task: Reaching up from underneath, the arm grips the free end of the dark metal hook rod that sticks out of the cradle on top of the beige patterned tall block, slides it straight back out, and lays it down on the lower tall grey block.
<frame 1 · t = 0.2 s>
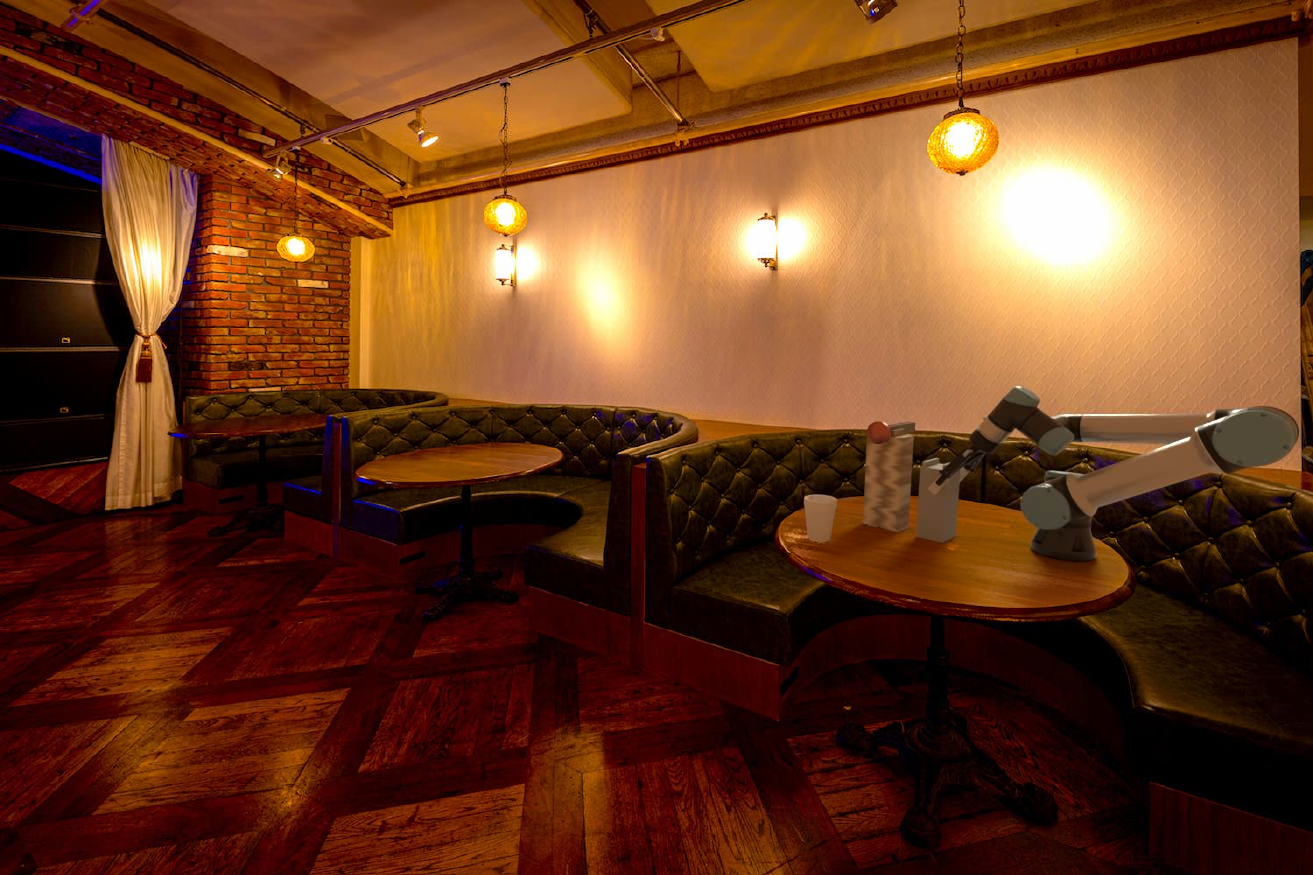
hand: (941, 487, 179), 16 cm above the table, tool tilted 35°, fingers open, 13 cm apart
beige patterned tall block: (885, 525, 194), on the table
tall grey block: (935, 536, 183), on the table
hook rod: (895, 434, 192), point 30 cm above the table, touching beige patterned tall block
foam cup: (818, 540, 180), on the table
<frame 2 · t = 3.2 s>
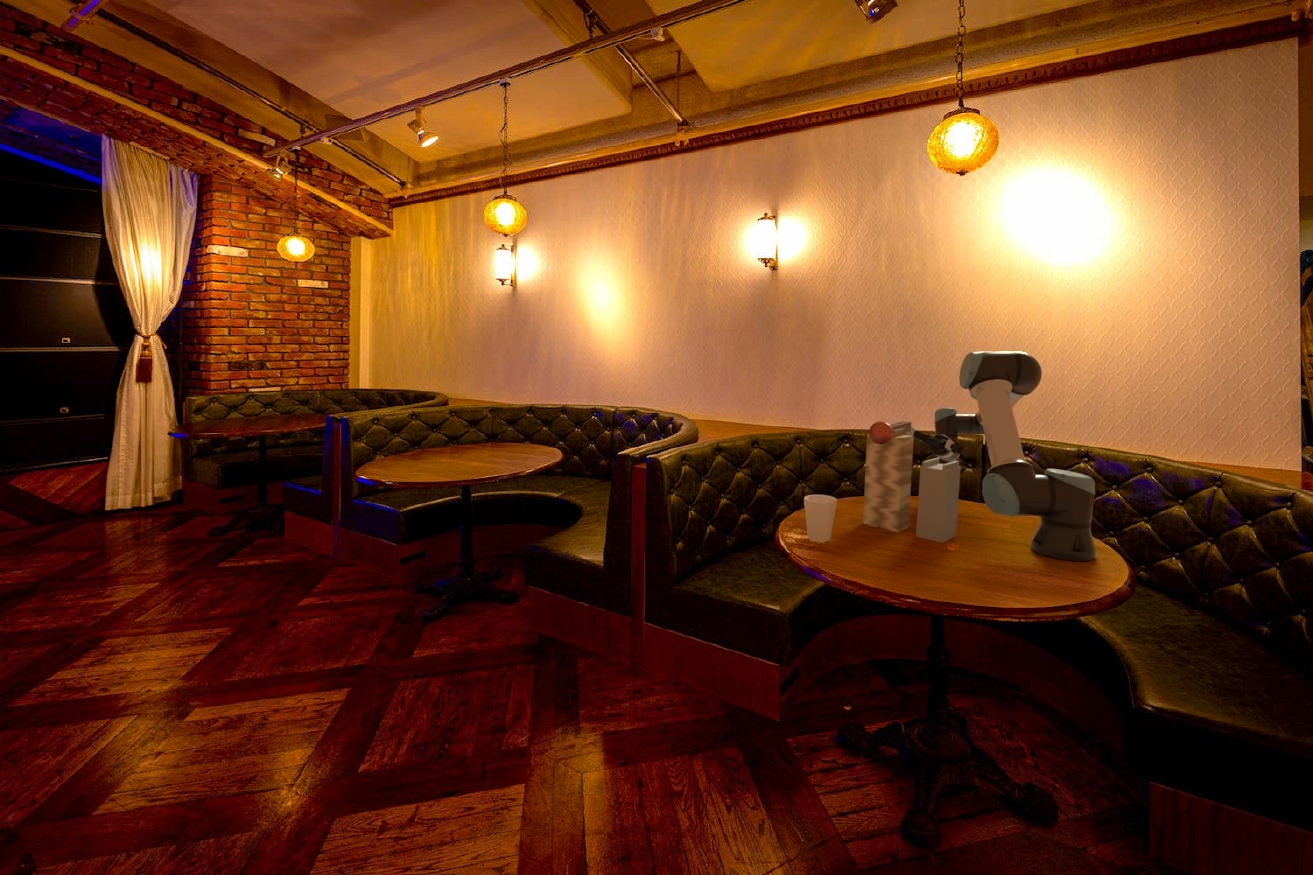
hand: (927, 436, 197), 28 cm above the table, tool pointing upward, fingers open, 13 cm apart
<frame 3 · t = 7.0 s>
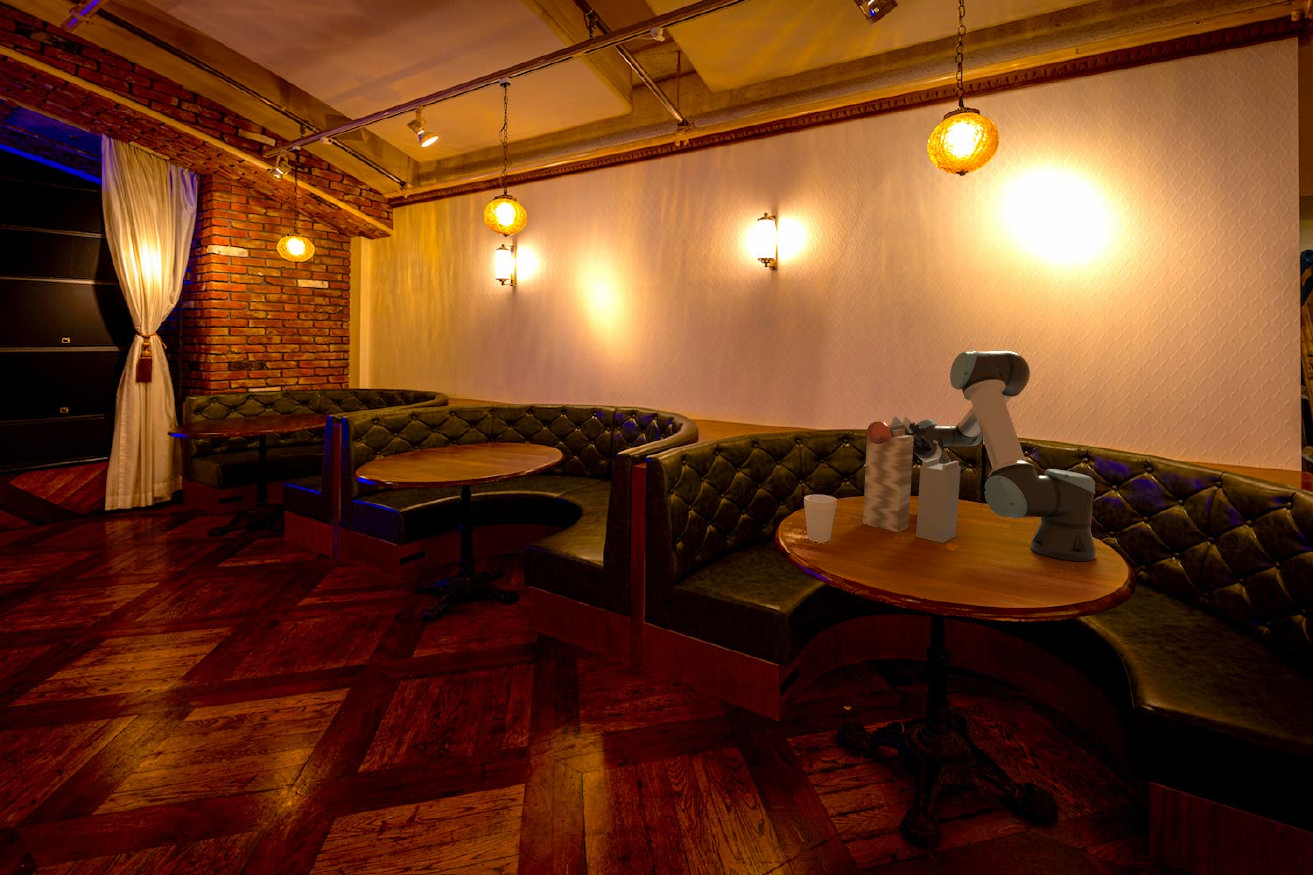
hand: (899, 420, 192), 34 cm above the table, tool pointing upward, fingers closed on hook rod, 3 cm apart
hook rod: (895, 433, 192), point 30 cm above the table, touching gripper
everything else where it was.
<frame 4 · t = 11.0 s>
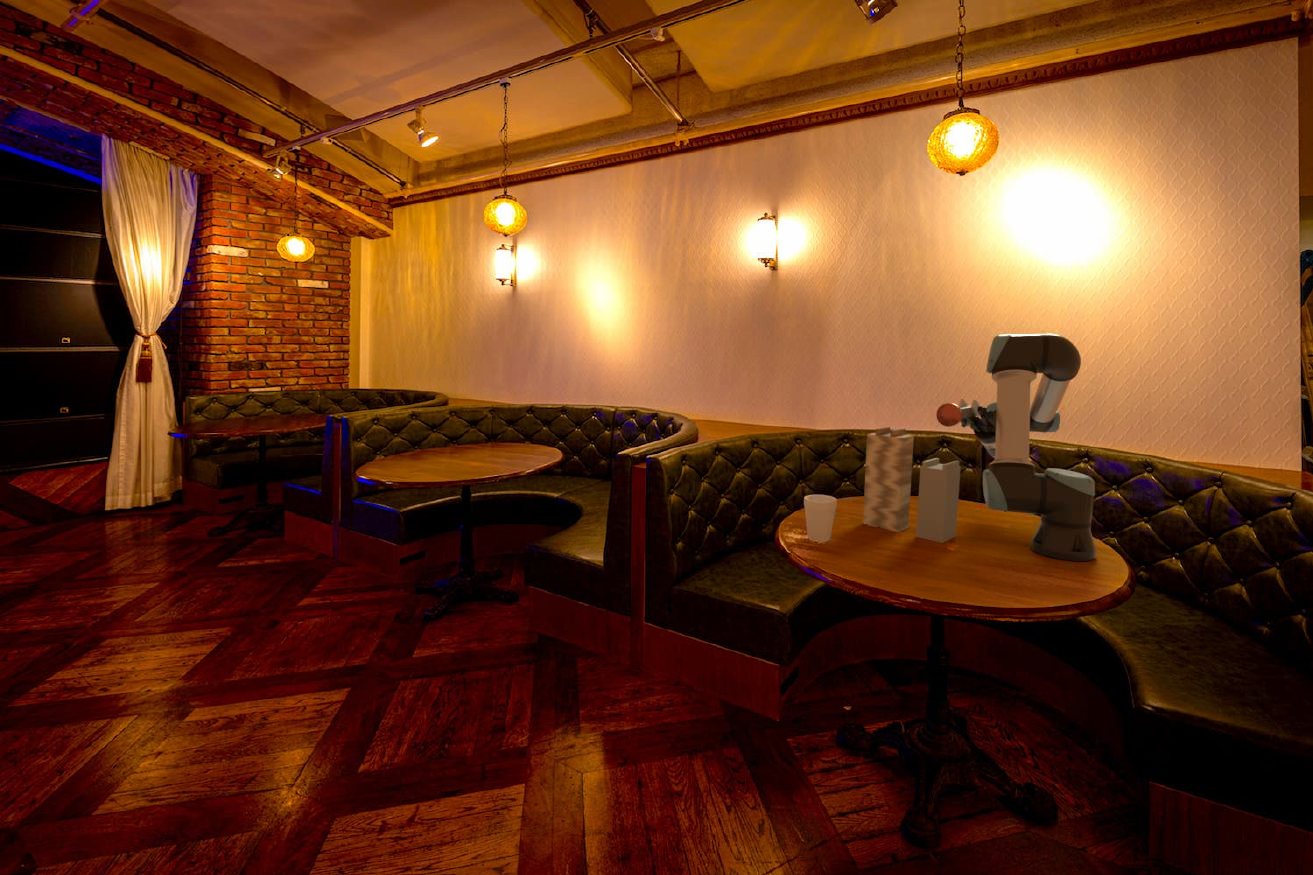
hand: (967, 403, 187), 40 cm above the table, tool pointing upward, fingers closed on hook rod, 3 cm apart
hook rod: (963, 416, 187), point 36 cm above the table, touching gripper
everything else where it was.
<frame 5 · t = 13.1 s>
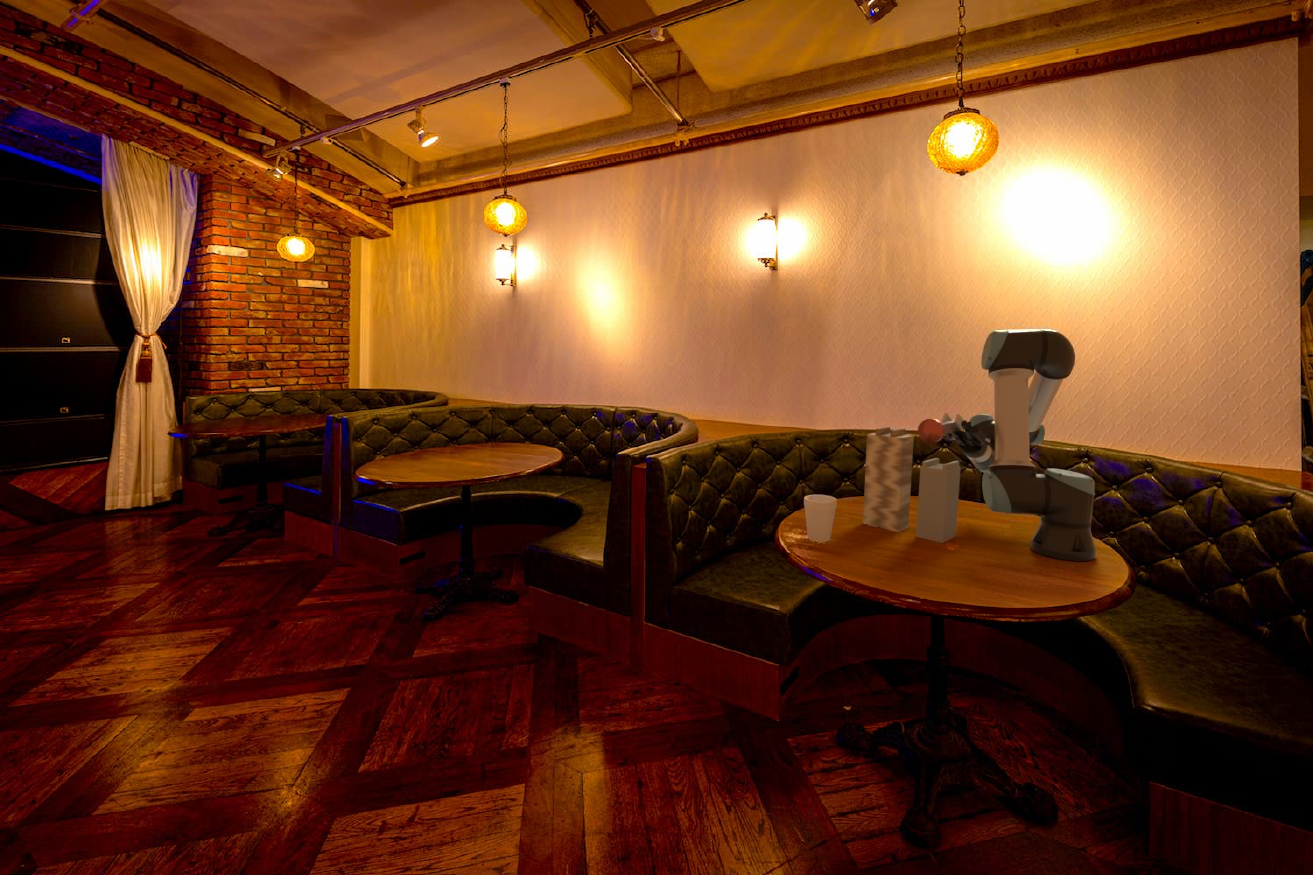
hand: (950, 417, 181), 36 cm above the table, tool pointing upward, fingers closed on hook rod, 3 cm apart
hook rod: (947, 431, 180), point 32 cm above the table, touching gripper
everything else where it was.
when the fingers open (27 cm above the table, at t = 14.9 s): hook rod stays where it is, resting on tall grey block.
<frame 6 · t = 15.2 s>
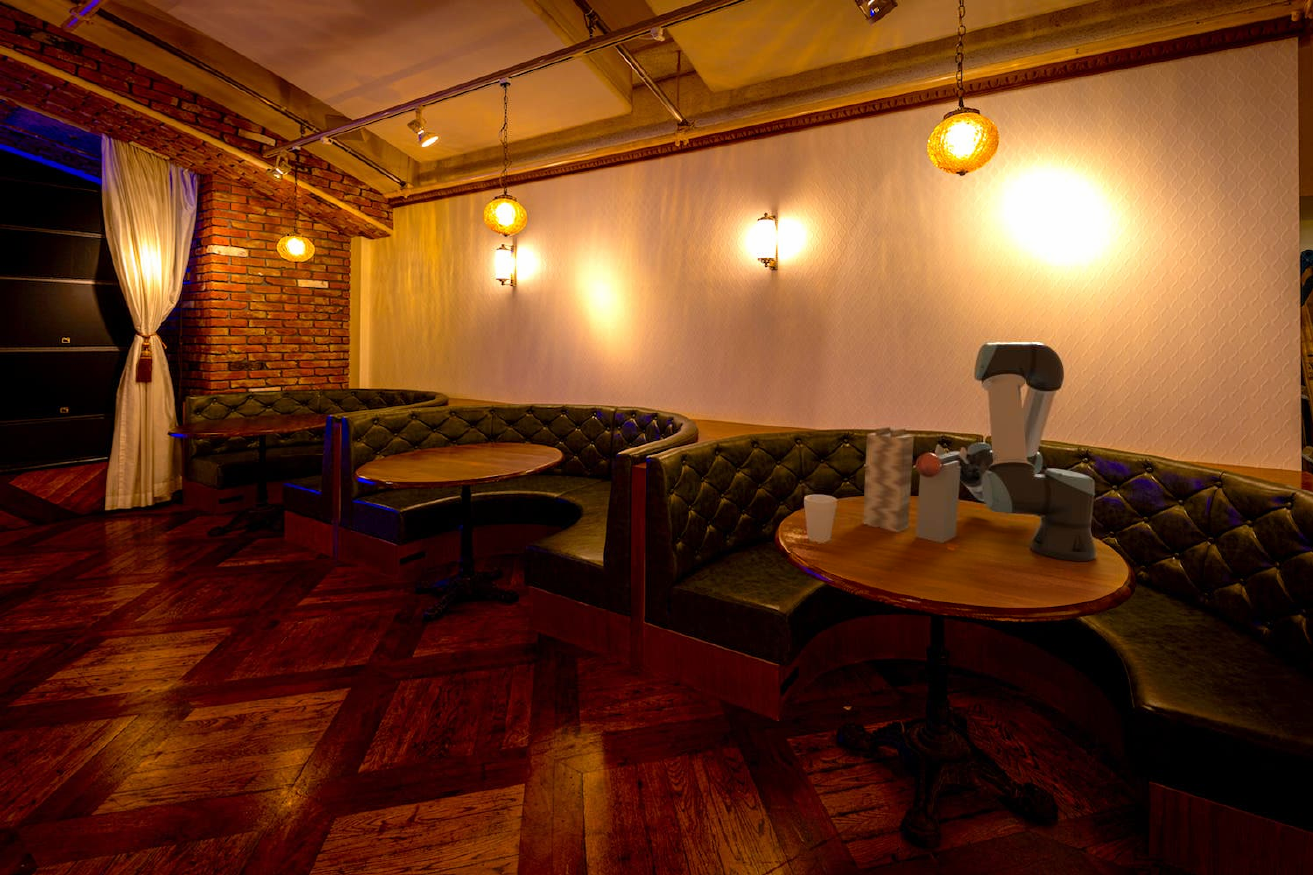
hand: (949, 449, 182), 27 cm above the table, tool pointing upward, fingers open, 7 cm apart
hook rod: (944, 465, 181), point 22 cm above the table, touching tall grey block
everything else where it was.
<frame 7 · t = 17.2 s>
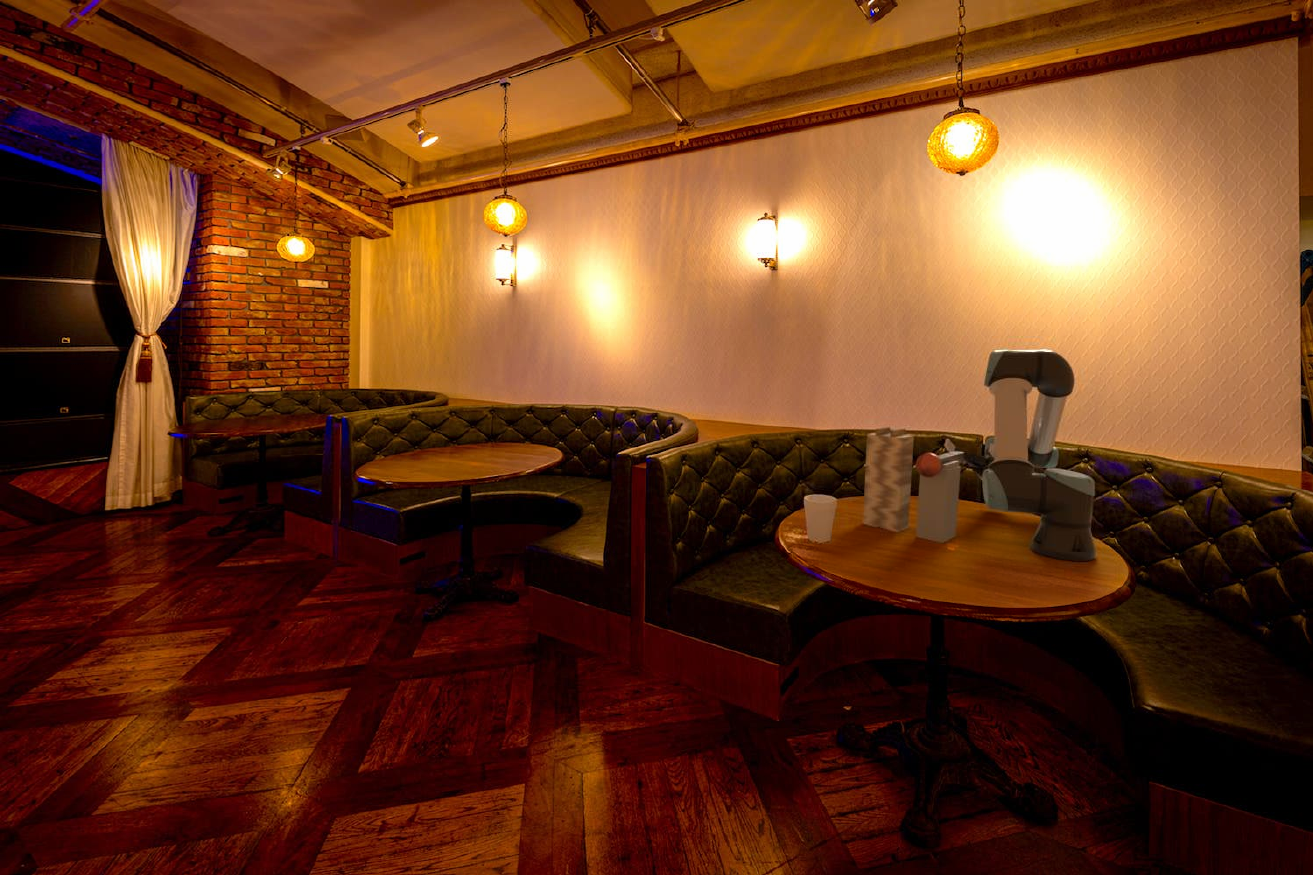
hand: (967, 444, 191), 27 cm above the table, tool pointing upward, fingers open, 13 cm apart
nothing on the table moved.
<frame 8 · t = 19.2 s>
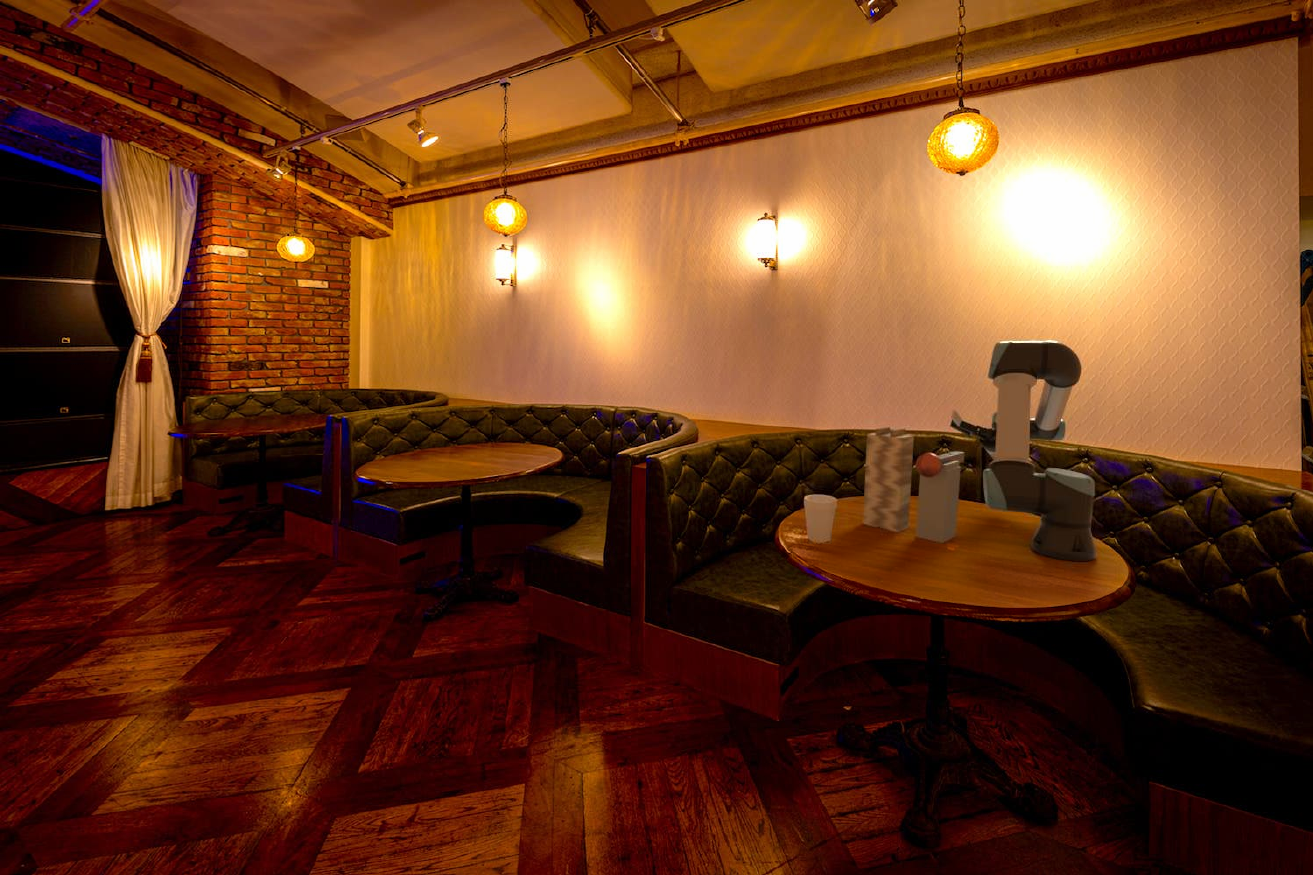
hand: (974, 415, 192), 36 cm above the table, tool pointing upward, fingers open, 13 cm apart
nothing on the table moved.
at the end: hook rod inside the target area (0.5 cm from its centre), point 22.0 cm above the table; the gripper is holding nothing; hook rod touching tall grey block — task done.
